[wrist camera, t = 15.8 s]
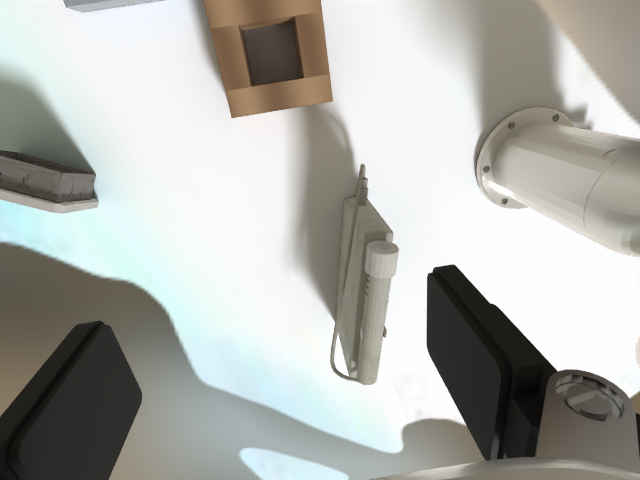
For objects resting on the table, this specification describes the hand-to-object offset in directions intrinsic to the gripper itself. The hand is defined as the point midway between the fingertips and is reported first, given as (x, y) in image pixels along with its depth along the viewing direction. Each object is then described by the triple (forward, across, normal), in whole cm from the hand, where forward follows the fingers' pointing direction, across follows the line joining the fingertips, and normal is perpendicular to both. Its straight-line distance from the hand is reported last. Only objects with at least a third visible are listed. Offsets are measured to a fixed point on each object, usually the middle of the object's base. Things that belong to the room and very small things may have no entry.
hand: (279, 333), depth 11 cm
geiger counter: (+34, -6, +15) cm, 38 cm away
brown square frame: (+34, -1, -9) cm, 35 cm away
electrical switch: (+33, +25, 0) cm, 42 cm away
